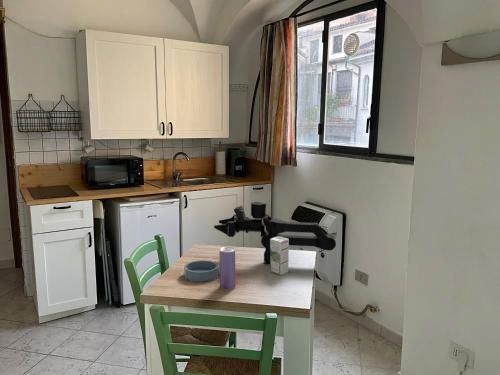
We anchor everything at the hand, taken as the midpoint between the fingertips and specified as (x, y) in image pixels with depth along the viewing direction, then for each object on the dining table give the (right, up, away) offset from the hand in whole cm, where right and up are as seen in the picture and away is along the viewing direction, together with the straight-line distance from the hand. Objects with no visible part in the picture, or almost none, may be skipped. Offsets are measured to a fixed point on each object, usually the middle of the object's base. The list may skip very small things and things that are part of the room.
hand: (216, 224), depth 182 cm
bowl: (-5, -20, -16) cm, 26 cm away
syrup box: (+27, -19, -12) cm, 36 cm away
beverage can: (+6, -22, -28) cm, 36 cm away
